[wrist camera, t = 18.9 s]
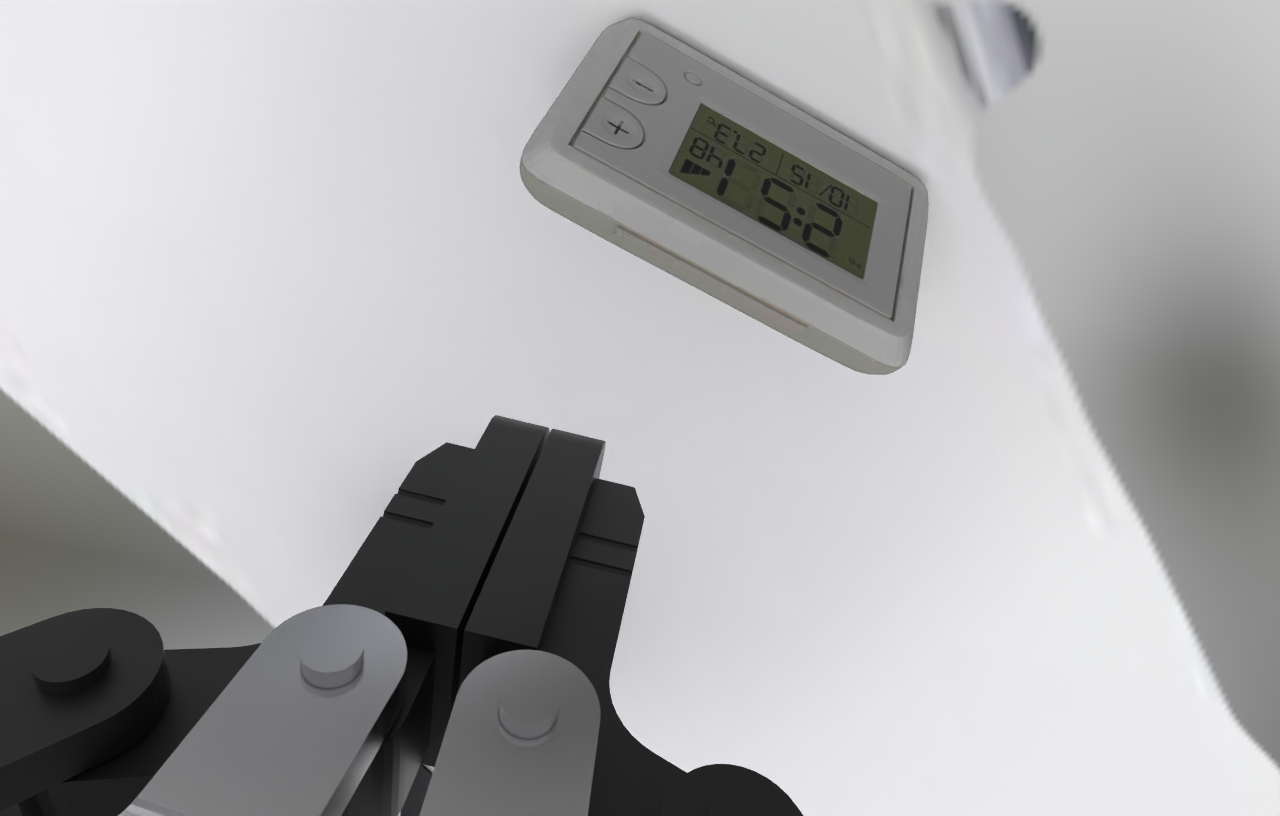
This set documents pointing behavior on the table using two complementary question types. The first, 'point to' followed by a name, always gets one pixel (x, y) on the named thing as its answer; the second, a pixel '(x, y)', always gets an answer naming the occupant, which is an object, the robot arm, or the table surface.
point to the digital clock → (735, 195)
